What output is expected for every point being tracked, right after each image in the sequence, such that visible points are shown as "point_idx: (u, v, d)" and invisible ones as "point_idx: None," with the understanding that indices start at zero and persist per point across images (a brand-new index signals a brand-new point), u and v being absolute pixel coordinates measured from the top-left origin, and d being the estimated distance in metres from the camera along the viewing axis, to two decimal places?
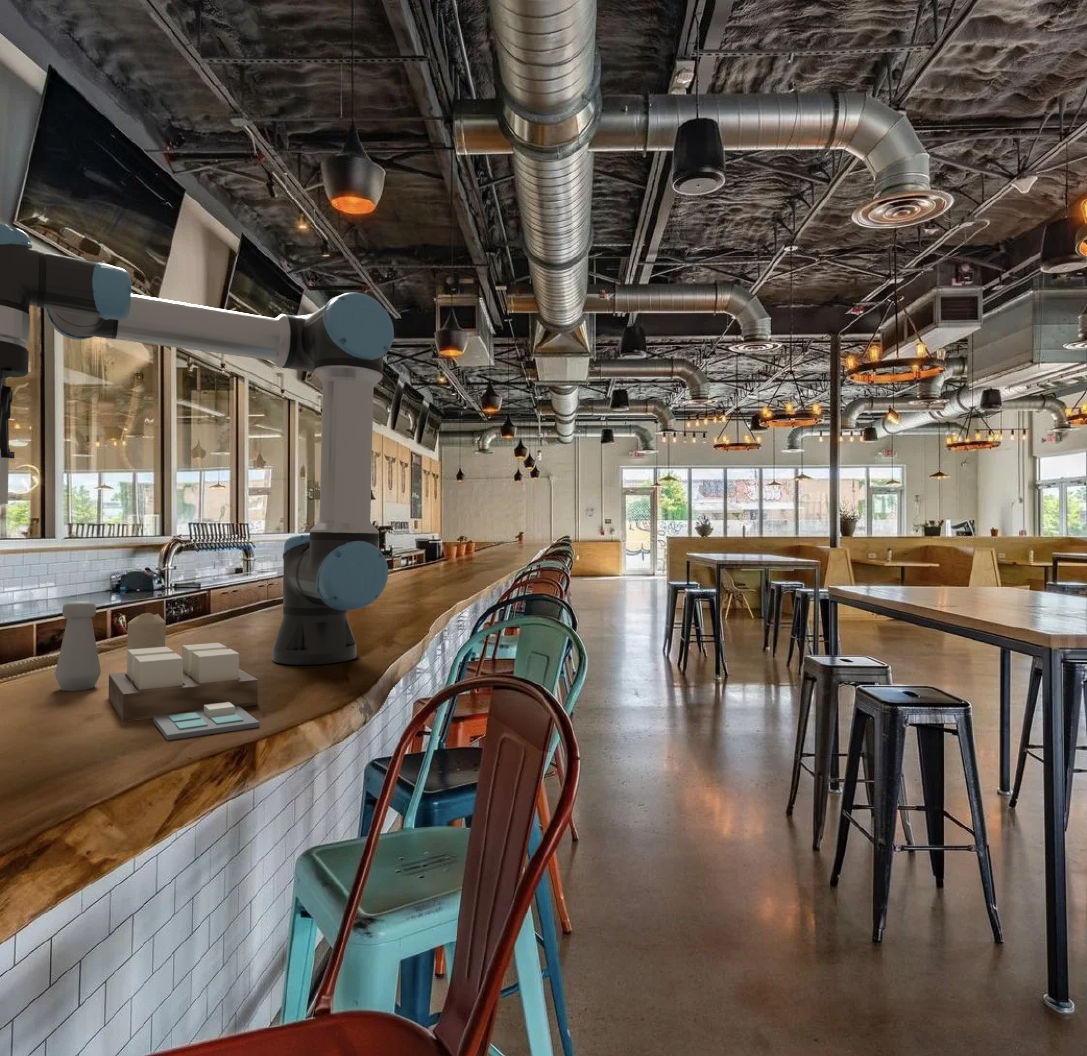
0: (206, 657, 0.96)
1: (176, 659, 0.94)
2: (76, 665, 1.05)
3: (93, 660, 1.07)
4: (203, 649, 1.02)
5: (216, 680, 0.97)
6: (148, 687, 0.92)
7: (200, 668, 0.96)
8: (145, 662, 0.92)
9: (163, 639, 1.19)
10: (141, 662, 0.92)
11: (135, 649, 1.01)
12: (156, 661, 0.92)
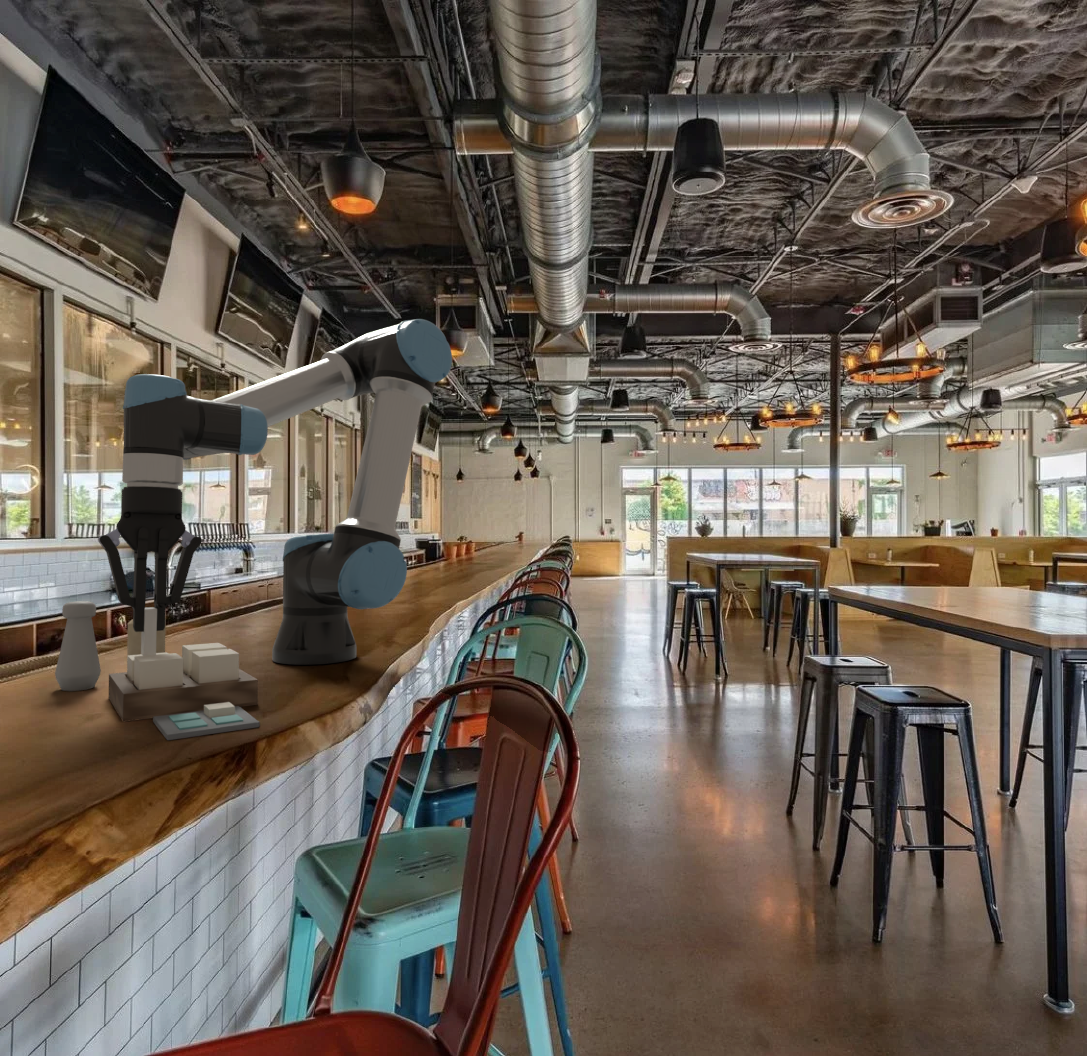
0: (206, 657, 0.96)
1: (176, 659, 0.94)
2: (76, 665, 1.05)
3: (93, 660, 1.07)
4: (203, 649, 1.02)
5: (216, 680, 0.97)
6: (148, 687, 0.92)
7: (200, 668, 0.96)
8: (145, 662, 0.92)
9: (163, 639, 1.19)
10: (141, 662, 0.92)
11: (135, 655, 1.01)
12: (156, 661, 0.92)
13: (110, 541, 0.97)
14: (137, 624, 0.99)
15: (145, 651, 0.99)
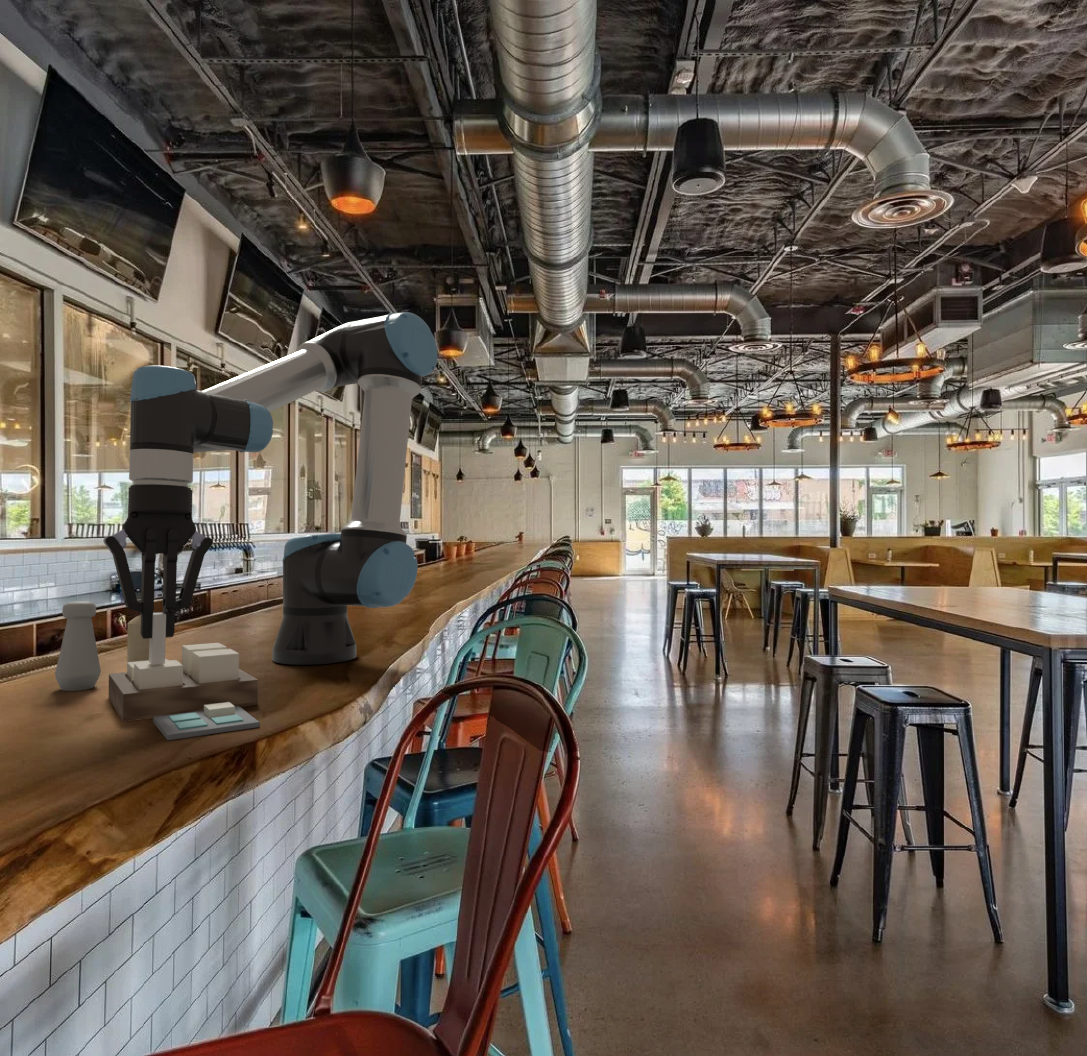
0: (206, 657, 0.96)
1: (176, 666, 0.94)
2: (76, 665, 1.05)
3: (93, 660, 1.07)
4: (203, 649, 1.02)
5: (216, 680, 0.97)
6: None
7: (200, 668, 0.96)
8: (145, 669, 0.92)
9: None
10: (141, 669, 0.92)
11: (135, 662, 1.01)
12: (156, 668, 0.92)
13: (116, 542, 0.91)
14: (145, 630, 0.93)
15: (153, 659, 0.93)
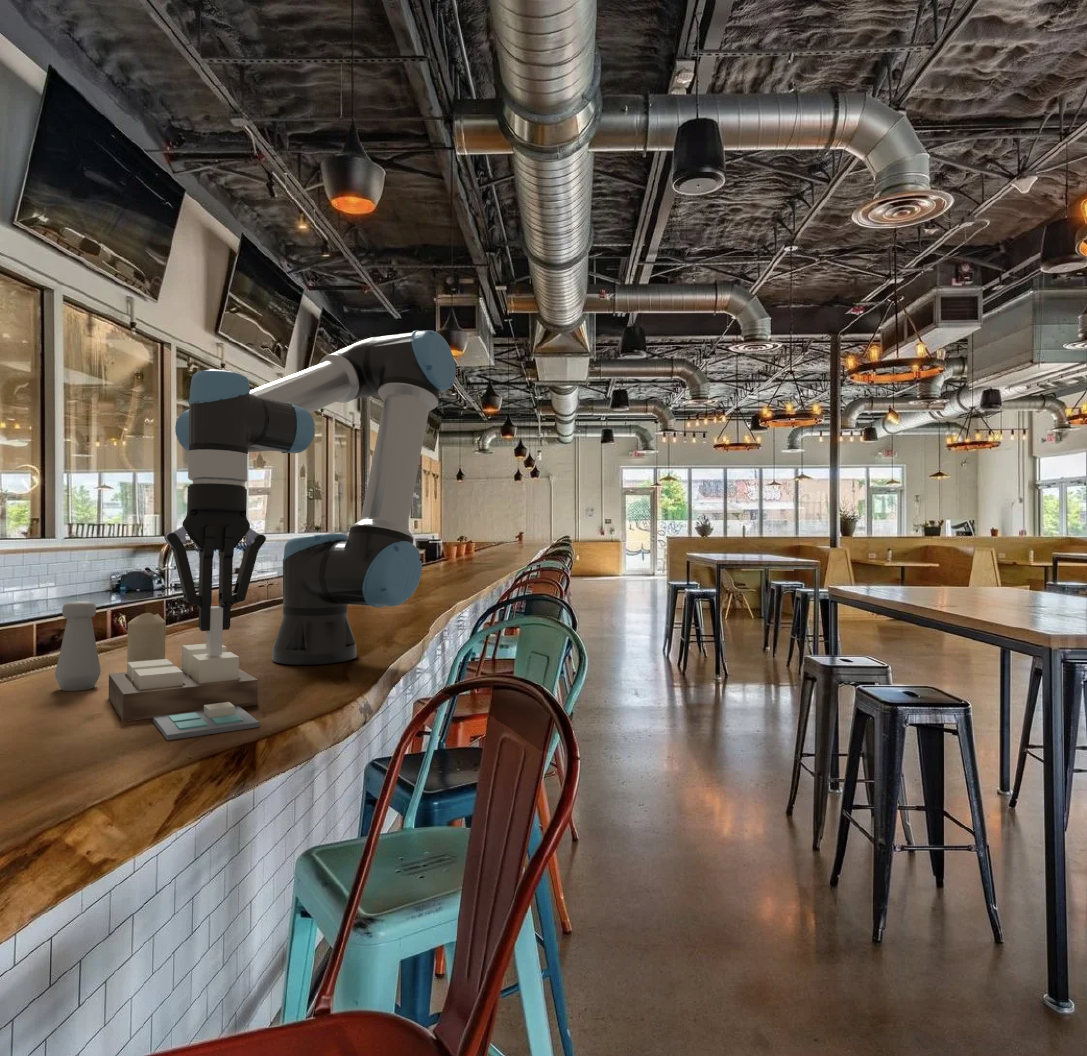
0: (206, 660, 0.96)
1: (176, 673, 0.94)
2: (76, 665, 1.05)
3: (93, 660, 1.07)
4: (203, 649, 1.02)
5: None
6: None
7: (200, 671, 0.96)
8: (145, 676, 0.92)
9: (164, 639, 1.19)
10: (141, 676, 0.91)
11: (135, 662, 1.01)
12: (156, 675, 0.92)
13: (177, 539, 0.95)
14: (203, 623, 0.97)
15: (211, 651, 0.97)
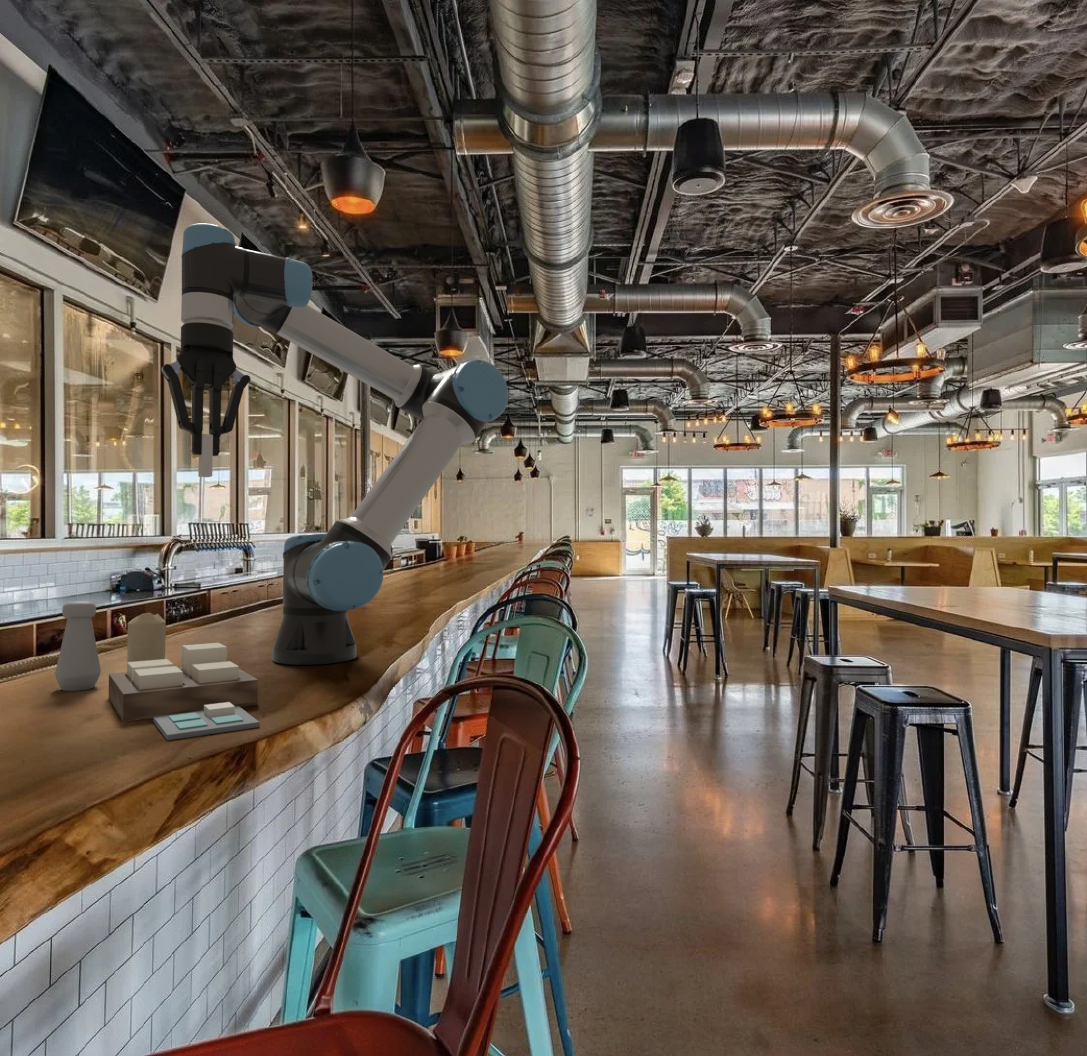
0: (206, 670, 0.96)
1: (176, 673, 0.94)
2: (76, 665, 1.05)
3: (93, 660, 1.07)
4: (203, 649, 1.02)
5: None
6: None
7: (200, 681, 0.96)
8: (145, 676, 0.92)
9: (164, 639, 1.19)
10: (141, 676, 0.91)
11: (135, 662, 1.01)
12: (156, 675, 0.92)
13: (172, 370, 1.09)
14: (196, 447, 1.11)
15: (203, 471, 1.11)
